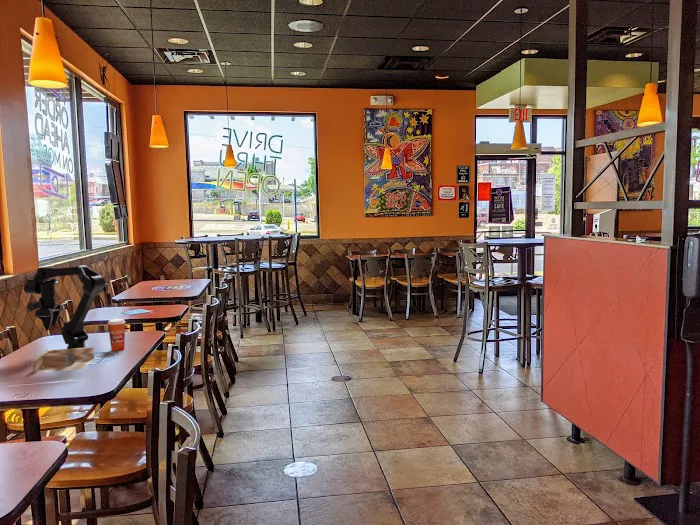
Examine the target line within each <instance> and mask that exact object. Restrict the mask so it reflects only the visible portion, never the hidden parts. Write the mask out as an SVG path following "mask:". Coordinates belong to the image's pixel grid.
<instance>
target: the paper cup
mask: <svg viewBox="0 0 700 525" xmlns="http://www.w3.org/2000/svg"><path fill="white" fill-rule="evenodd" d="M107 325H108V334H109V342H110V347H111V348H110V350H111V351H112V352H121V351H124V350H125V349H126V348H125V345H126V344H125V341H126V340H125V338H126V336H125V335H126V334H125V332H126V331H125V330H126V329H125V328H126V326H125V325H126V321H125V319H124V318H112V319H109V320H108V322H107Z"/></svg>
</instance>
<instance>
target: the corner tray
mask: <svg viewBox="0 0 700 525" xmlns="http://www.w3.org/2000/svg"><path fill="white" fill-rule="evenodd" d="M94 348H95V347H94V346H90V347H85V348H74V349H67V348H62V349H48V350H45V351H43V352H42V353H40V355H38V356H37V357H36V358H34V359H33V360H32V362H31V363H32V373H33V374H36V373H37V374H39V373H40V374H41V373H52V372H62V371H63V372H64V371H77V370H85V369H86V368H87V367H88V366H89V365H90V364H91V362H92V361H93V360H94V359H95V353H94V352H95V350H94ZM49 353H73V356H74V364H72V365H70V366H58V367H44V359H43V356H45V355H47V354H49Z"/></svg>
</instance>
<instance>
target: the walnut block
mask: <svg viewBox="0 0 700 525" xmlns="http://www.w3.org/2000/svg"><path fill="white" fill-rule="evenodd" d="M43 359H44V367H58V366H70V365H72V364H74V356H73V353H49V354H47V355H45V356H43Z"/></svg>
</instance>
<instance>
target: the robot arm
mask: <svg viewBox="0 0 700 525" xmlns="http://www.w3.org/2000/svg"><path fill="white" fill-rule="evenodd" d="M75 275H76V276H77V277H78V279H79V281H80V282H81V283H82V284H83V285H82V290H83V294H82V296H81V298H80V301H79V303H78V305H77V307H76V309H75V311H74V314H73V316H72V318H71V319H70V320H67V321H64V323H63V326H62V328H61V329H60V330H61V335H62V339H63V341H64V343H65V345H67V347H66V349H74V348H86V341H88V339H89V335H88V334H87V332H85V325H84V322H85V319H86V318H87V315H88V314H89V311H90V309H91V306H92V305H93V302H94V300H95V297H96V296H98V294H99V293H100V292H101V291H102V290H103V288H104V287H105V286H106V284H107V283H106V278H105V277H104V276H102V275H101V274H99V273H98V272H96V271H94V270H93V269H91V268H90V267H89V266H87V265H86V264H84V265H77V266H66V267H59V266H54V265H53V266H52V265H51V266H43V267H38V268H37V270H36V272H35V275H34V277H33V278H29V279H26V283H24V286H23V291H24V293H25V294H26V295H40V297H39V298H38V300H37V301H35V302H33V301H30V302H28V303H26V304H27V305H26V310H28V312H29V313H31V312H33V311H35V310H36V311H35V312H34V317H35V318H37V319H40V320H41V322H42V324H43V327H44V329H45V331H49V330H50V328H51V326H52V327H56V325H57V322H58V320H59V317H60V314H61V312H62V310H63V304H62V303H60V302H57V300H56V299H57V297H58V296H57V294H56V285H59V284H60V282H59V281H58V280H56V278H59V277H64V276H75Z"/></svg>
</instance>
